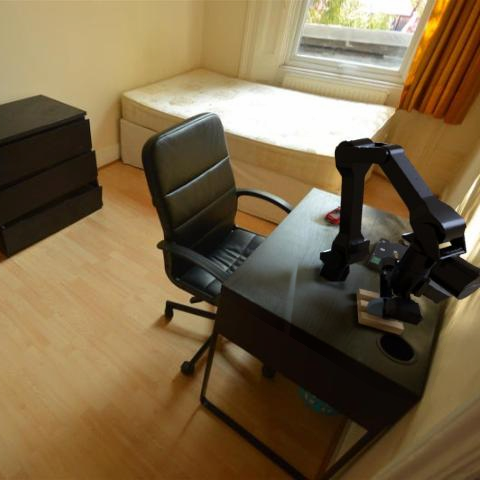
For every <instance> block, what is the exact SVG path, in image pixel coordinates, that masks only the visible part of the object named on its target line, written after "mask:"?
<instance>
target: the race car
mask: <svg viewBox="0 0 480 480" xmlns="http://www.w3.org/2000/svg"><path fill="white" fill-rule="evenodd" d="M324 220H325V221H326V222H328V223H330V224H331V225H333V226H334V225H336V226H339V222H340V206H339V205H338V206H337V207H336V208H334V209H333V210H330V211H329V212H327V214H325V217H324Z"/></svg>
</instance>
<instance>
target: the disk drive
mask: <svg viewBox="0 0 480 480" xmlns="http://www.w3.org/2000/svg"><path fill="white" fill-rule="evenodd" d="M406 249H407V246H406V245H403V244H400V243H397V242H391V241H390V239H387V238H384V237H380V238H379V240H378V242H377V243H376V246H375V248H374V251H373V252H372V255H371V256H370V258H369V260H368V262H367V264H366V268H371V269H375V270H378V271H380V272H381V273H384V272H385V269H384V270H379V264H378V263H379V262H380V260H381V258H383V257H386V256H389V257H393V258H399V259H400V258H401V257H402V255H403V254H404V252H405V250H406Z"/></svg>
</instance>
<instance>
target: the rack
mask: <svg viewBox="0 0 480 480" xmlns="http://www.w3.org/2000/svg"><path fill="white" fill-rule="evenodd" d="M393 297H394V296H393ZM393 297H392V298H393ZM376 298H380V293H378V292H376V291H375V292H374V291H370V290H367V289H362V288H359V289H358V291H357V292H356V305H357V316H358V319H357V320H358V324H361V325H365V326H368V327H371V328H375V329H377V330H382V331H385V332H388V333H392V334H394V335H395V334H396V335H398V336H399V335H401V334H402V333H403V331H404V330H405V328H404V322H401V321H399V320H396V321H392V320H389V319H388V320H385V319H382V317H378V316H375V315H371V314H368V313H367V304H368V303H369V302H370V301H371V300H373V299H376Z"/></svg>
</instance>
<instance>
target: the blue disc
mask: <svg viewBox="0 0 480 480" xmlns="http://www.w3.org/2000/svg"><path fill="white" fill-rule="evenodd" d="M383 298H384V297H383ZM383 298H376V299H373V300H371V301H370V302H369V303H368V304H367V313H368V314H371V315H375V316H378V317H382V305H383ZM387 299H389V298H387ZM389 320H392V321H396V320H395V319H392V318H390V319H389Z"/></svg>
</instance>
